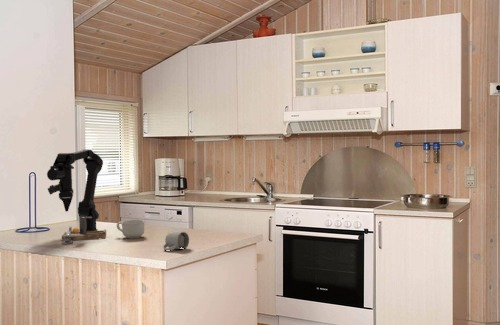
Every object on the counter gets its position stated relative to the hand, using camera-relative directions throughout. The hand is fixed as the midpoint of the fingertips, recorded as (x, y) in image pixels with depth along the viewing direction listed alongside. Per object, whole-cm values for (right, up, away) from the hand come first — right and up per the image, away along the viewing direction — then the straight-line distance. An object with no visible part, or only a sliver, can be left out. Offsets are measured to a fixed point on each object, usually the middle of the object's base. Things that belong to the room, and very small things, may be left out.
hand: (67, 210), depth 262 cm
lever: (+8, -10, -10) cm, 16 cm away
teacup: (+32, -13, -4) cm, 35 cm away
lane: (+10, -13, -3) cm, 17 cm away
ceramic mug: (+58, -14, -34) cm, 69 cm away
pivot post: (+6, -14, -16) cm, 22 cm away
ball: (+6, -11, -4) cm, 13 cm away
